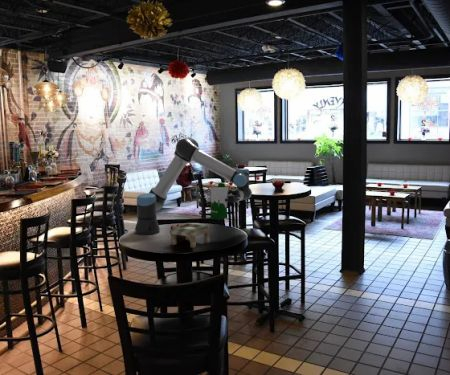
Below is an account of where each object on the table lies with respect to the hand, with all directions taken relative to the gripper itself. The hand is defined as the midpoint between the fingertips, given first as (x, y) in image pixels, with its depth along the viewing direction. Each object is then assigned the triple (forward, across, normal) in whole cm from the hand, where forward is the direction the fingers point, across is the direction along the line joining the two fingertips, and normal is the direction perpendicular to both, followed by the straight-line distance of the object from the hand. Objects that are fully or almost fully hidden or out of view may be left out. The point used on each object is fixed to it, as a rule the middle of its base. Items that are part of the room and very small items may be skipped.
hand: (214, 200), depth 259 cm
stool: (+14, +7, -23) cm, 27 cm away
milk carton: (-5, 0, -11) cm, 12 cm away
